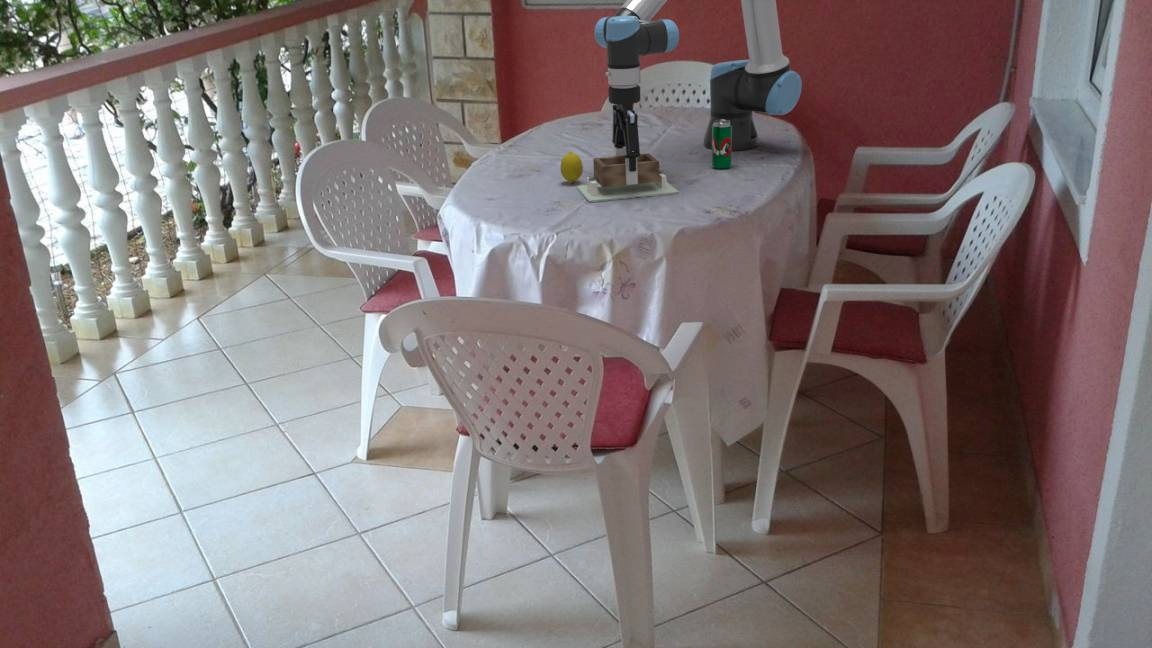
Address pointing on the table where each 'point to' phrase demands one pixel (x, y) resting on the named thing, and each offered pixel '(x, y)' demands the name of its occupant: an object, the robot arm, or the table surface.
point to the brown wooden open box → (614, 170)
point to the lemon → (571, 167)
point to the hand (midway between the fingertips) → (626, 179)
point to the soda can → (722, 144)
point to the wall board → (626, 190)
